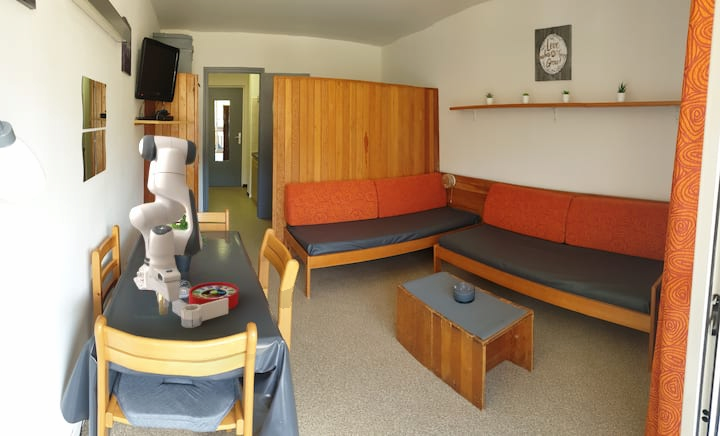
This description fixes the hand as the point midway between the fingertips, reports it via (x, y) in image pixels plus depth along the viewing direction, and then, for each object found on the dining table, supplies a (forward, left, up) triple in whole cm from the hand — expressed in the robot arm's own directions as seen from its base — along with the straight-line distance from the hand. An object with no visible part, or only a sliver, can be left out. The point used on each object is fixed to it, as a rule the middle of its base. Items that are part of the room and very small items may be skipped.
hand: (163, 304), depth 170 cm
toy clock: (-6, +24, -8) cm, 26 cm away
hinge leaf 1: (+1, +8, -8) cm, 11 cm away
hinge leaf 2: (+7, +14, -8) cm, 17 cm away
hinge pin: (0, 0, -4) cm, 4 cm away
